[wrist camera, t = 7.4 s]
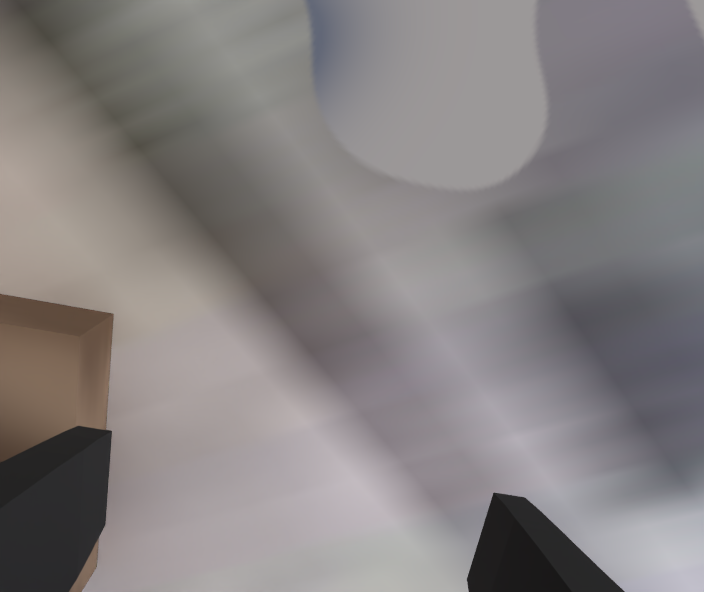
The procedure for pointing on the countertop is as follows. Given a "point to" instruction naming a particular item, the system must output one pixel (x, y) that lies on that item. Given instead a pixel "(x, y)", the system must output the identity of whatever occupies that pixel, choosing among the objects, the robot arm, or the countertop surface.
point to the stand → (52, 377)
